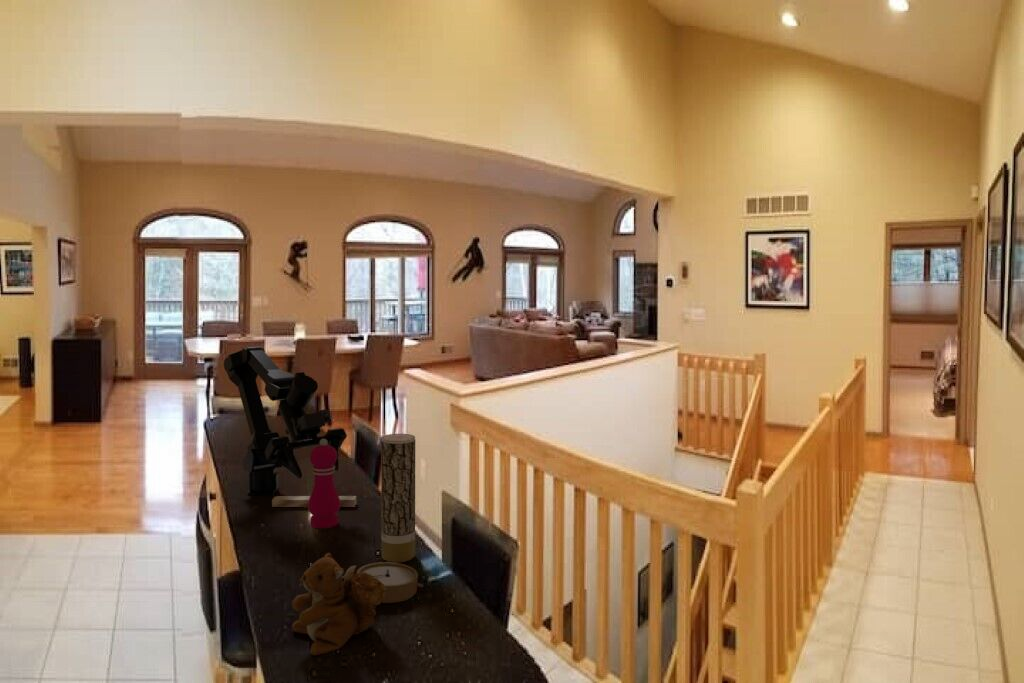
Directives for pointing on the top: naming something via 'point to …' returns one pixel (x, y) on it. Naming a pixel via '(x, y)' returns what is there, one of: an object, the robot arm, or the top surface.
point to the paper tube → (398, 497)
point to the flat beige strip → (303, 501)
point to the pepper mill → (323, 487)
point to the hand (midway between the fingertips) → (319, 473)
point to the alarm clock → (391, 579)
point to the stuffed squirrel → (335, 605)
